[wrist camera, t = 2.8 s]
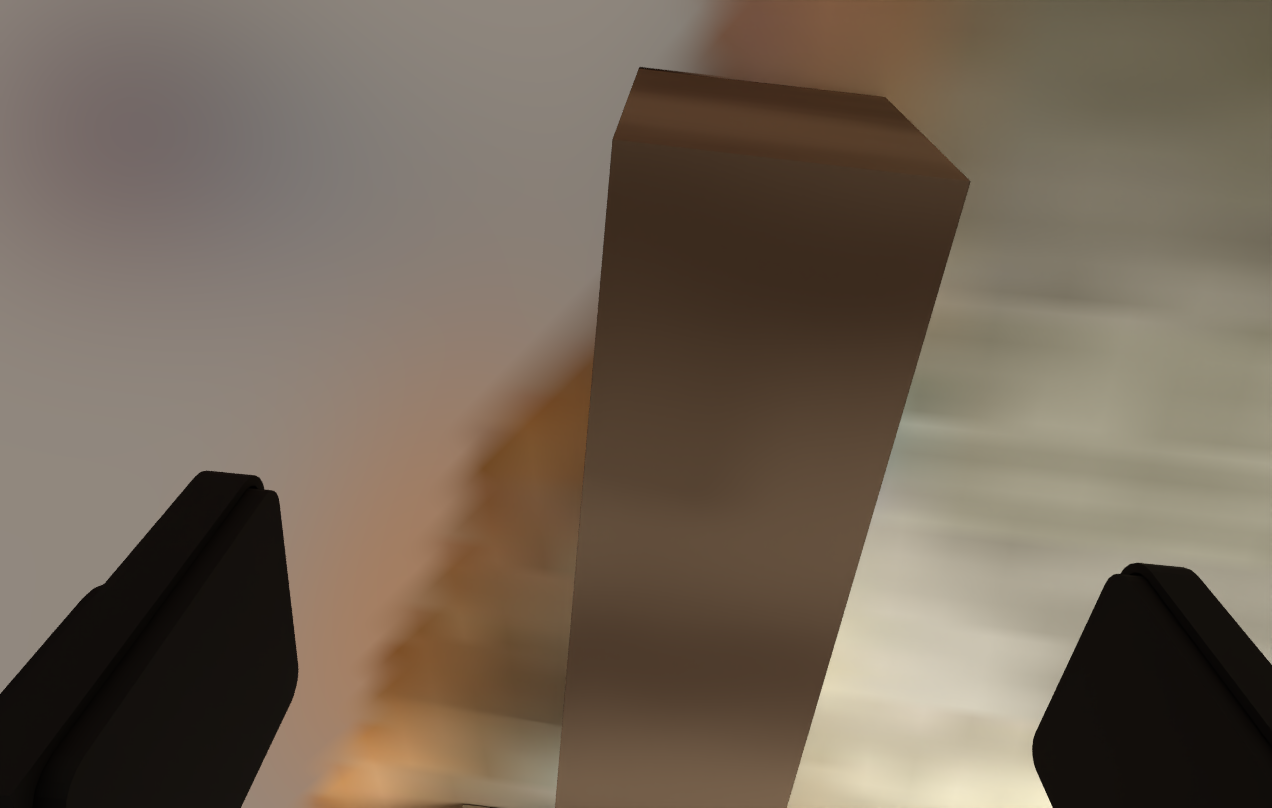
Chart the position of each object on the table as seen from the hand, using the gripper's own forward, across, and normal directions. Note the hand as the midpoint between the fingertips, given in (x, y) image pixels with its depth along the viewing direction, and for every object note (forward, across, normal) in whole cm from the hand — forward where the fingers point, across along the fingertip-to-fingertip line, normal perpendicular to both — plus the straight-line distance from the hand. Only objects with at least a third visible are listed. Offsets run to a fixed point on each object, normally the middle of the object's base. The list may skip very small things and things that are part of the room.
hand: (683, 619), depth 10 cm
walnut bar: (+10, -1, +4) cm, 11 cm away
